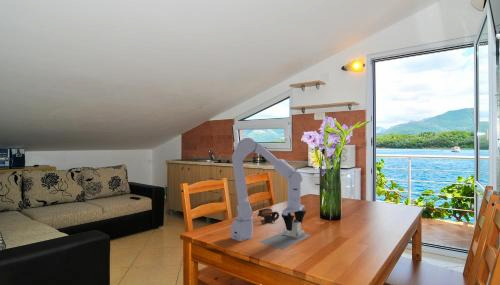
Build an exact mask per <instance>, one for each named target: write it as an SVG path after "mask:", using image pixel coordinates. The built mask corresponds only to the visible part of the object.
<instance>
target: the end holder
mask: <svg viewBox="0 0 500 285" xmlns="http://www.w3.org/2000/svg"><path fill="white" fill-rule="evenodd" d="M283 232H284V234H283V235H284V236H288V237H292V238H296V239H298V238H300V237H302V236H305V234H306V233H305V230H304V229H301V231H298V232H296V236H294V235H290V231H288V230H287V229H286V228H283Z"/></svg>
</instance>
